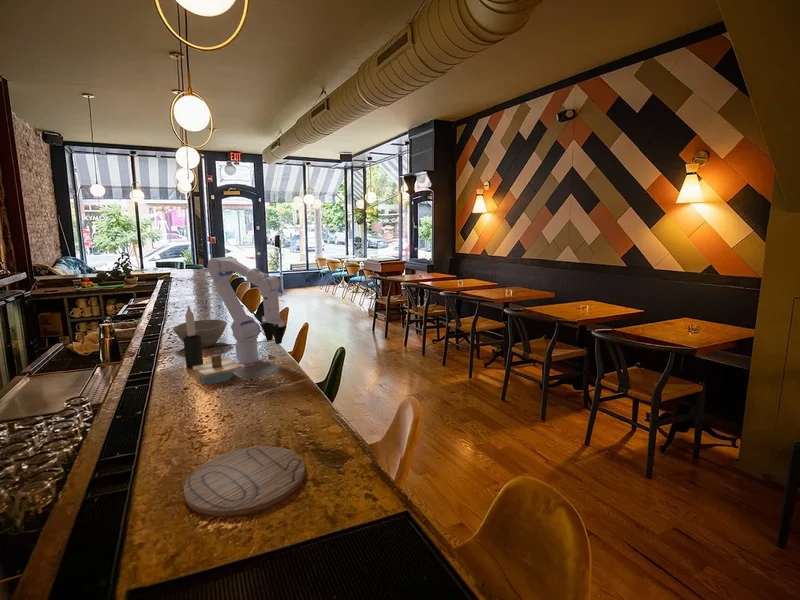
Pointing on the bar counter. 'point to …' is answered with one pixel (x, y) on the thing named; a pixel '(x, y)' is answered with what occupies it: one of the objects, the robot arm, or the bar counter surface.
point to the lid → (216, 366)
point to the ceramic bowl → (204, 331)
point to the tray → (259, 370)
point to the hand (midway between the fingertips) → (274, 341)
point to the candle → (192, 343)
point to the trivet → (244, 481)
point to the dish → (217, 378)
